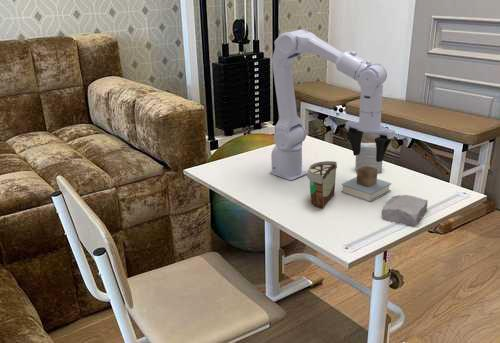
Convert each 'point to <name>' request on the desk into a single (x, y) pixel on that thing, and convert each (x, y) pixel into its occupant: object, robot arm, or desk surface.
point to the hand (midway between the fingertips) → (367, 157)
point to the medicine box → (368, 157)
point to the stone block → (404, 209)
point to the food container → (322, 182)
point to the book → (366, 189)
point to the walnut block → (366, 176)
